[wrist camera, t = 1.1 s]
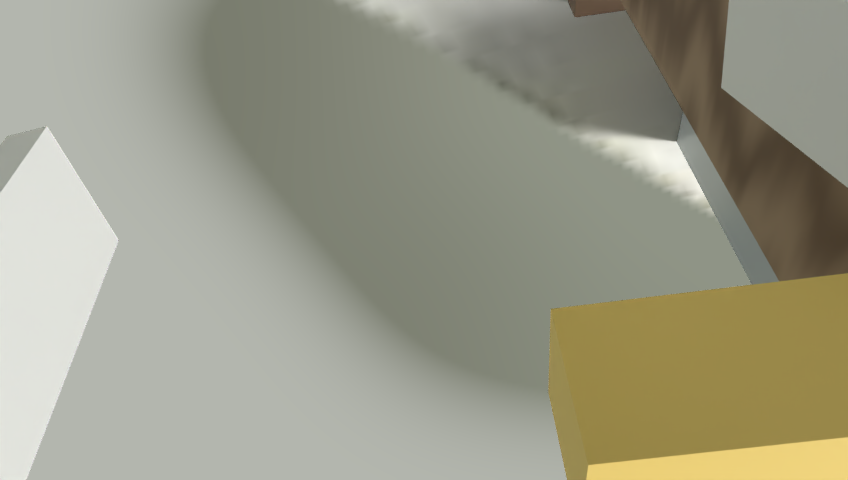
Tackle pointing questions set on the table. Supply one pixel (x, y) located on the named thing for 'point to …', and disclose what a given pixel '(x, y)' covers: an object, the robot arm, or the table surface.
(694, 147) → the grey slab
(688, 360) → the block
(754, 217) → the stand
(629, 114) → the table surface
